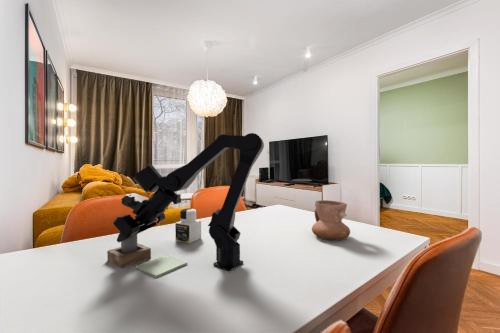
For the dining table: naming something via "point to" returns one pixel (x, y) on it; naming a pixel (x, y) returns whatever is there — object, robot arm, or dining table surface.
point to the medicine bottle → (188, 226)
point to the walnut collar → (128, 256)
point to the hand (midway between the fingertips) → (125, 237)
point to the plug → (129, 245)
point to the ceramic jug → (330, 220)
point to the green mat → (161, 265)
